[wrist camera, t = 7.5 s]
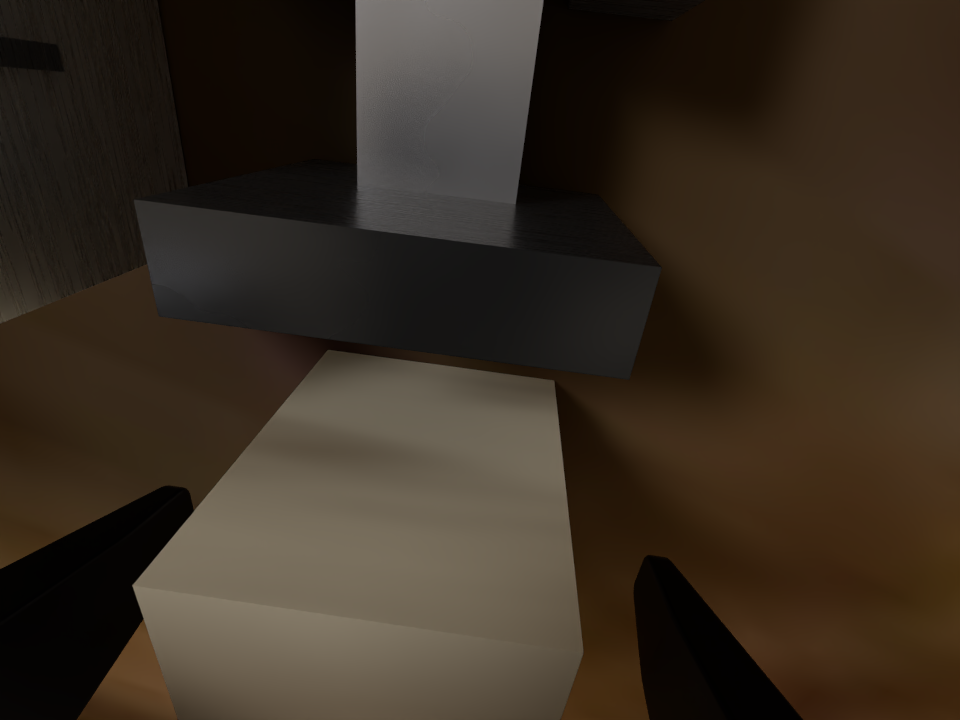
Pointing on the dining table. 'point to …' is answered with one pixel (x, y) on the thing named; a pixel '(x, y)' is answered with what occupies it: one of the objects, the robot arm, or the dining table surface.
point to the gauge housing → (101, 138)
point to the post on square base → (416, 216)
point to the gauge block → (378, 557)
